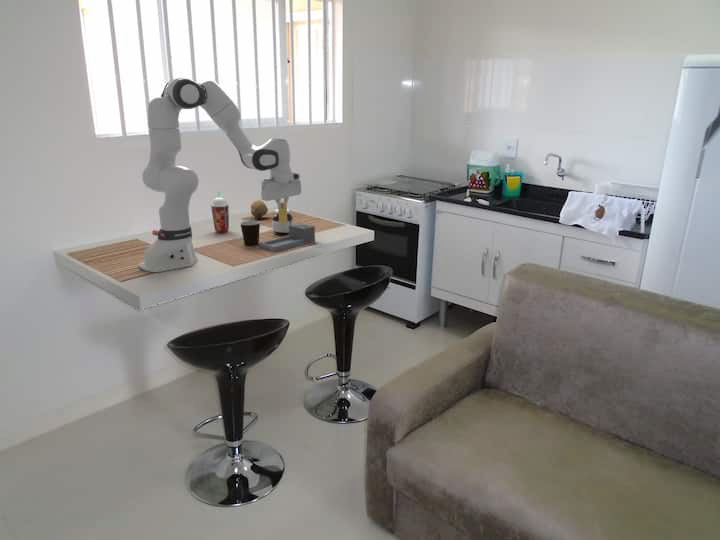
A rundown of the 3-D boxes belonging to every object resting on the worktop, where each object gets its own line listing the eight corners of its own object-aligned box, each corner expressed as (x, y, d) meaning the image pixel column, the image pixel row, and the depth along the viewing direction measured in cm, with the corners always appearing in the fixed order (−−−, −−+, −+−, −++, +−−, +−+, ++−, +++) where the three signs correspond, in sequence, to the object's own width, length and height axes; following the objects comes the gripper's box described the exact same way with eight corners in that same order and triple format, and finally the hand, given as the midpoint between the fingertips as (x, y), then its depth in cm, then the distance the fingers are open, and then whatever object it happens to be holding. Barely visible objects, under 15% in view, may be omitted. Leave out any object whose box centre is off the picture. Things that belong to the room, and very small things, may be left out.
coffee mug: (256, 247, 239) (255, 225, 236) (238, 246, 240) (237, 224, 237) (266, 240, 250) (265, 219, 246) (249, 239, 251) (247, 218, 248)
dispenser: (274, 251, 232) (273, 234, 230) (260, 247, 238) (259, 231, 236) (314, 241, 249) (314, 225, 246) (300, 237, 255) (300, 221, 253)
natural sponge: (270, 216, 297) (269, 199, 294) (265, 220, 289) (264, 202, 286) (254, 216, 298) (253, 198, 295) (249, 219, 290) (247, 201, 287)
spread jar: (283, 236, 257) (282, 212, 253) (264, 233, 262) (263, 210, 258) (298, 231, 266) (297, 208, 263) (280, 228, 272) (278, 205, 268)
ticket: (286, 223, 237) (285, 203, 234) (278, 221, 240) (277, 201, 237) (287, 222, 237) (286, 202, 234) (280, 221, 241) (279, 201, 238)
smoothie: (234, 231, 267) (231, 191, 260) (221, 234, 260) (218, 193, 254) (222, 228, 271) (218, 189, 265) (209, 232, 264) (206, 192, 258)
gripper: (266, 180, 223) (268, 212, 227) (302, 174, 237) (304, 205, 242) (256, 178, 227) (259, 210, 231) (293, 172, 241) (294, 203, 246)
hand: (282, 207), depth 237 cm, fingers closed on ticket, 1 cm apart
